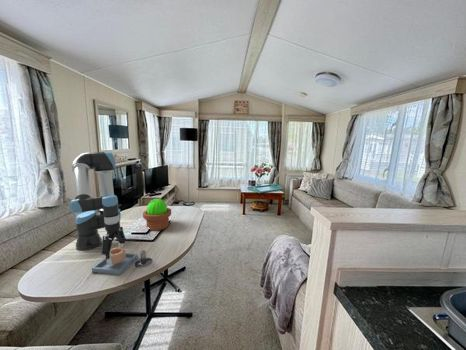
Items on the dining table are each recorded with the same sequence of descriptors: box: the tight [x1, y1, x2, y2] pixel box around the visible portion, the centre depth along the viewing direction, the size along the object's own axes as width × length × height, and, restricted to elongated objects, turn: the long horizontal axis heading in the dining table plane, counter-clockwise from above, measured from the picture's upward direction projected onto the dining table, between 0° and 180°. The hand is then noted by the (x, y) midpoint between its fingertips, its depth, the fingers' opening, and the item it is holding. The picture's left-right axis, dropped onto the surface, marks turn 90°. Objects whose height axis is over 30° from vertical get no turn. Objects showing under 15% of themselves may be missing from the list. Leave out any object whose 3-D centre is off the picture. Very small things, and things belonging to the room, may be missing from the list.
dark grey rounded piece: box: [134, 250, 153, 269], centre depth 125 cm, size 10×10×8 cm
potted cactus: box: [142, 198, 172, 231], centre depth 175 cm, size 22×22×25 cm
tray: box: [91, 252, 139, 276], centre depth 123 cm, size 17×17×3 cm
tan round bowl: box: [110, 246, 127, 264], centre depth 122 cm, size 10×10×5 cm
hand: (115, 258), depth 122 cm, fingers closed on tan round bowl, 10 cm apart
